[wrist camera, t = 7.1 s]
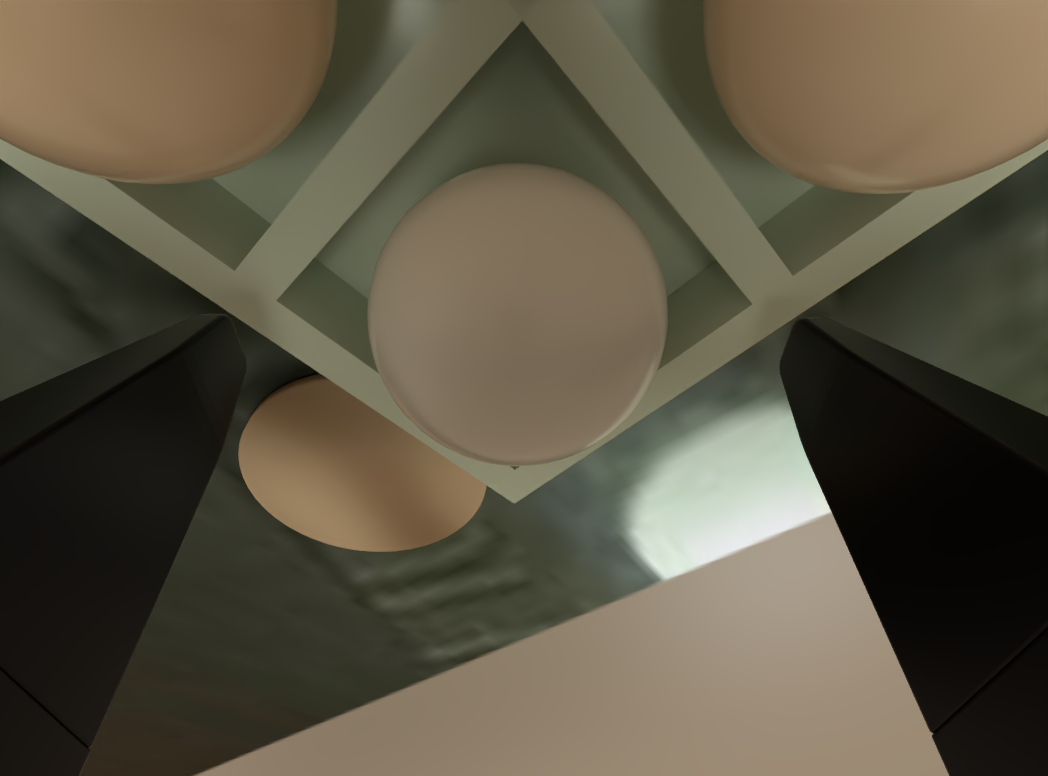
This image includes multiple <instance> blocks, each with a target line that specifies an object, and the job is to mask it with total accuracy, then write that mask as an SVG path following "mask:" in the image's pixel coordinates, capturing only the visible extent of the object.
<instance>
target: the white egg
mask: <svg viewBox="0 0 1048 776" xmlns="http://www.w3.org/2000/svg"><path fill="white" fill-rule="evenodd" d="M367 321H368V333H369V341H370V345H371V349H372V353H373V357H374V360H375V364H376V367H377V369H378V372H379V374H380V377H381V379H382V381H383V383H384V385H385V386H386V388H387V390H388V391H389V393H390V395H391V396H392V398H393V400H394V401H395V403H396V404H397V406H398V407H399V408H400V409H401V411H402V412H403V413H404V414H405V416H406V417H408V418H409V419H410V420H411V421H412V422H413V423H414V424H415V425H416V426H417V427H418V428H419V429H420V430H421V431H422V432H423V433H425V434H426V435H427V436H429V437H430V438H431V439H433V440H434V441H436V442H437V443H439V444H441V445H442V446H444V447H446V448H448V449H450V450H452V451H454V452H456V453H459V454H461V455H463V456H465V457H468V458H471V459H474V460H477V461H481V462H485V463H490V464H496V465H504V466H532V465H539V464H546V463H550V462H554V461H558V460H562V459H565V458H567V457H570V456H573V455H575V454H577V453H579V452H582V451H584V450H586V449H588V448H589V447H591V446H593V445H595V444H596V443H598V442H600V441H601V440H603V439H604V438H606V437H607V436H608V435H609V434H611V433H612V432H613V431H615V430H616V429H617V428H618V427H619V426H620V425H621V424H622V423H623V422H624V421H625V420H626V419H627V418H628V417H629V416H630V414H631V413H632V412H633V411H634V410H635V408H636V407H637V406H638V405H639V403H640V402H641V401H642V399H643V397H644V396H645V394H646V392H647V391H648V389H649V387H650V385H651V383H652V381H653V379H654V377H655V374H656V372H657V370H658V368H659V365H660V361H661V358H662V354H663V351H664V346H665V341H666V334H667V326H668V311H667V294H666V289H665V283H664V278H663V275H662V272H661V269H660V266H659V263H658V260H657V258H656V255H655V252H654V250H653V248H652V246H651V244H650V243H649V241H648V239H647V237H646V235H645V234H644V232H643V231H642V229H641V228H640V227H639V225H638V224H637V223H636V221H635V220H634V219H633V217H632V216H631V215H630V213H629V212H628V211H627V210H626V209H625V208H624V207H623V206H622V205H621V204H620V203H619V202H617V201H616V200H615V199H614V198H613V197H611V196H610V195H609V194H607V193H606V192H605V191H603V190H602V189H600V188H599V187H597V186H596V185H594V184H592V183H590V182H589V181H587V180H585V179H583V178H581V177H579V176H577V175H575V174H572V173H569V172H566V171H564V170H561V169H558V168H553V167H549V166H544V165H539V164H527V163H508V164H496V165H491V166H486V167H481V168H477V169H474V170H471V171H468V172H465V173H462V174H460V175H458V176H456V177H454V178H452V179H450V180H448V181H446V182H444V183H442V184H440V185H439V186H437V187H436V188H435V189H433V190H432V191H430V192H429V193H427V194H426V195H425V196H423V197H422V198H421V199H420V200H419V201H418V202H417V203H416V204H414V205H413V206H412V207H411V208H410V209H409V210H408V211H407V212H406V213H405V215H404V216H403V217H402V218H401V220H400V221H399V222H398V223H397V225H396V226H395V227H394V229H393V231H392V232H391V234H390V236H389V238H388V239H387V241H386V243H385V244H384V246H383V248H382V250H381V252H380V255H379V257H378V260H377V262H376V265H375V267H374V272H373V276H372V280H371V285H370V289H369V294H368V308H367Z"/></svg>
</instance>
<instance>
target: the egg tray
mask: <svg viewBox="0 0 1048 776" xmlns="http://www.w3.org/2000/svg"><path fill="white" fill-rule="evenodd" d="M1047 150H1048V139H1047V140H1045V141H1044V142H1042V143H1041V144H1039V145H1037V146H1036V147H1034V148H1032V149H1031V150H1029V151H1027V152H1025V153H1023V154H1021V155H1019V156H1017V157H1015V158H1013V159H1011V160H1009V161H1007V162H1005V163H1003V164H1001V165H999V166H996V167H994V168H992V169H990V170H987V171H985V172H982V173H979V174H977V175H974V176H972V177H969V178H967V179H964V180H960V181H957V182H953V183H950V184H946V185H943V186H938V187H934V188H929V189H924V190H918V191H912V192H906V193H894V194H859V193H847V192H841V191H837V190H833V189H828V188H824V187H820V186H816V185H812V184H810V183H807V182H805V181H802V180H800V179H797V178H795V177H793V176H791V175H789V174H788V173H786V172H784V171H782V170H781V169H779V168H778V167H776V166H774V165H773V164H771V163H770V162H768V161H766V160H765V159H764V158H763V157H762V156H761V155H760V154H758V153H757V152H756V151H755V150H754V149H753V148H752V147H751V146H750V145H749V144H748V143H747V142H746V141H745V139H744V138H743V137H742V136H741V134H740V133H739V132H738V131H737V129H736V128H735V127H734V126H733V124H732V123H731V121H730V120H729V118H728V116H727V114H726V113H725V111H724V109H723V107H722V106H721V103H720V101H719V98H718V95H717V93H716V90H715V88H714V85H713V82H712V79H711V75H710V71H709V67H708V63H707V58H706V54H705V45H704V35H703V0H338V8H337V26H336V33H335V40H334V47H333V52H332V56H331V59H330V63H329V67H328V70H327V74H326V77H325V79H324V82H323V84H322V86H321V88H320V91H319V93H318V95H317V98H316V99H315V101H314V102H313V104H312V105H311V107H310V109H309V110H308V112H307V113H306V115H305V116H304V118H303V119H302V120H301V122H300V123H299V124H298V125H297V126H296V127H295V129H294V130H293V131H292V132H291V133H290V134H289V135H288V136H287V138H286V139H285V140H283V141H282V142H281V143H280V144H278V145H277V146H276V147H275V148H274V149H272V150H271V151H270V152H269V153H267V154H265V155H264V156H262V157H260V158H259V159H257V160H255V161H253V162H251V163H250V164H248V165H246V166H244V167H242V168H241V169H238V170H235V171H232V172H230V173H227V174H224V175H221V176H218V177H214V178H209V179H204V180H199V181H194V182H189V183H179V184H141V183H128V182H120V181H115V180H110V179H105V178H100V177H95V176H91V175H87V174H84V173H80V172H77V171H74V170H70V169H67V168H64V167H61V166H57V165H55V164H52V163H50V162H47V161H45V160H43V159H40V158H38V157H35V156H33V155H30V154H28V153H26V152H24V151H22V150H20V149H18V148H16V147H14V146H13V145H11V144H9V143H7V142H5V141H3V140H1V139H0V159H1V160H3V161H4V162H6V163H7V164H9V165H10V166H12V167H13V168H15V169H16V170H18V171H19V172H21V173H22V174H24V175H25V176H27V177H28V178H29V179H31V180H32V181H34V182H35V183H37V184H38V185H40V186H41V187H43V188H44V189H46V190H47V191H49V192H50V193H52V194H53V195H55V196H56V197H58V198H59V199H61V200H62V201H64V202H65V203H67V204H68V205H70V206H71V207H73V208H74V209H76V210H77V211H79V212H80V213H82V214H83V215H85V216H86V217H88V218H89V219H91V220H92V221H94V222H95V223H97V224H98V225H100V226H101V227H103V228H104V229H105V230H107V231H108V232H110V233H111V234H113V235H114V236H116V237H117V238H119V239H120V240H122V241H123V242H125V243H126V244H128V245H129V246H131V247H132V248H134V249H135V250H137V251H138V252H140V253H141V254H143V255H144V256H146V257H147V258H149V259H150V260H152V261H153V262H155V263H156V264H158V265H159V266H161V267H162V268H164V269H165V270H167V271H168V272H170V273H171V274H173V275H174V276H176V277H177V278H179V279H180V280H181V281H183V282H184V283H186V284H187V285H189V286H190V287H192V288H193V289H195V290H196V291H198V292H199V293H201V294H202V295H204V296H205V297H207V298H208V299H210V300H211V301H213V302H214V303H216V304H217V305H219V306H220V307H222V308H223V309H225V310H226V311H228V312H229V313H231V314H232V315H234V316H235V317H237V318H238V319H240V320H241V321H243V322H244V323H246V324H247V325H249V326H250V327H252V328H253V329H255V330H256V331H257V332H259V333H260V334H262V335H263V336H265V337H266V338H268V339H269V340H271V341H272V342H274V343H275V344H277V345H278V346H280V347H281V348H283V349H284V350H286V351H287V352H289V353H290V354H292V355H293V356H295V357H296V358H298V359H299V360H301V361H302V362H304V363H305V364H307V365H308V366H310V367H311V368H313V369H314V370H316V371H317V372H319V373H320V374H322V375H323V376H325V377H326V378H328V379H329V380H331V381H332V382H333V383H335V384H336V385H338V386H339V387H341V388H342V389H344V390H345V391H347V392H348V393H350V394H351V395H353V396H354V397H356V398H357V399H359V400H360V401H362V402H363V403H365V404H366V405H368V406H369V407H371V408H372V409H374V410H375V411H377V412H378V413H380V414H381V415H383V416H384V417H386V418H387V419H389V420H390V421H392V422H393V423H395V424H396V425H398V426H399V427H401V428H402V429H404V430H405V431H407V432H408V433H409V434H411V435H412V436H414V437H415V438H417V439H418V440H420V441H421V442H423V443H424V444H426V445H427V446H429V447H430V448H432V449H433V450H435V451H436V452H438V453H439V454H441V455H442V456H444V457H445V458H447V459H448V460H450V461H451V462H453V463H454V464H456V465H457V466H459V467H460V468H462V469H463V470H465V471H466V472H468V473H469V474H471V475H472V476H474V477H475V478H477V479H478V480H480V481H481V482H483V483H484V484H485V485H487V486H488V487H490V488H491V489H493V490H494V491H496V492H497V493H499V494H500V495H502V496H503V497H505V498H506V499H508V500H509V501H511V502H512V503H514V504H515V503H516V502H518V501H519V500H521V499H522V498H524V497H525V496H527V495H528V494H530V493H531V492H533V491H534V490H536V489H537V488H539V487H540V486H542V485H543V484H545V483H546V482H548V481H549V480H551V479H552V478H554V477H555V476H557V475H558V474H560V473H561V472H563V471H564V470H566V469H567V468H569V467H570V466H572V465H573V464H575V463H576V462H578V461H579V460H581V459H582V458H584V457H586V456H587V455H589V454H590V453H592V452H593V451H595V450H596V449H598V448H599V447H601V446H602V445H604V444H605V443H607V442H608V441H610V440H611V439H613V438H614V437H616V436H617V435H619V434H620V433H622V432H623V431H625V430H626V429H628V428H629V427H631V426H632V425H634V424H635V423H637V422H638V421H640V420H641V419H643V418H644V417H646V416H647V415H649V414H650V413H652V412H653V411H655V410H656V409H658V408H659V407H661V406H662V405H664V404H665V403H667V402H668V401H670V400H671V399H673V398H674V397H676V396H677V395H679V394H680V393H682V392H684V391H685V390H687V389H688V388H690V387H691V386H693V385H694V384H696V383H697V382H699V381H700V380H702V379H703V378H705V377H706V376H708V375H709V374H711V373H712V372H714V371H715V370H717V369H718V368H720V367H721V366H723V365H724V364H726V363H727V362H729V361H730V360H732V359H733V358H735V357H736V356H738V355H739V354H741V353H742V352H744V351H745V350H747V349H748V348H750V347H751V346H753V345H754V344H756V343H757V342H759V341H760V340H762V339H763V338H765V337H766V336H768V335H769V334H771V333H772V332H774V331H775V330H777V329H778V328H780V327H781V326H783V325H785V324H786V323H788V322H789V321H791V320H792V319H794V318H795V317H797V316H798V315H800V314H801V313H803V312H804V311H806V310H807V309H809V308H810V307H812V306H813V305H815V304H816V303H818V302H819V301H821V300H822V299H824V298H825V297H827V296H828V295H830V294H831V293H833V292H834V291H836V290H837V289H839V288H840V287H842V286H843V285H845V284H846V283H848V282H849V281H851V280H852V279H854V278H855V277H857V276H858V275H860V274H861V273H863V272H864V271H866V270H867V269H869V268H870V267H872V266H873V265H875V264H876V263H878V262H879V261H881V260H883V259H884V258H886V257H887V256H889V255H890V254H892V253H893V252H895V251H896V250H898V249H899V248H901V247H902V246H904V245H905V244H907V243H908V242H910V241H911V240H913V239H914V238H916V237H917V236H919V235H920V234H922V233H923V232H925V231H926V230H928V229H929V228H931V227H932V226H934V225H935V224H937V223H938V222H940V221H941V220H943V219H944V218H946V217H947V216H949V215H950V214H952V213H953V212H955V211H956V210H958V209H959V208H961V207H962V206H964V205H965V204H967V203H968V202H970V201H971V200H973V199H974V198H976V197H977V196H979V195H980V194H982V193H984V192H985V191H987V190H988V189H990V188H991V187H993V186H994V185H996V184H997V183H999V182H1000V181H1002V180H1003V179H1005V178H1006V177H1008V176H1009V175H1011V174H1012V173H1014V172H1015V171H1017V170H1018V169H1020V168H1021V167H1023V166H1024V165H1026V164H1027V163H1029V162H1030V161H1032V160H1033V159H1035V158H1036V157H1038V156H1039V155H1041V154H1042V153H1044V152H1045V151H1047ZM508 163H527V164H539V165H544V166H549V167H553V168H558V169H561V170H564V171H566V172H569V173H572V174H575V175H577V176H579V177H581V178H583V179H585V180H587V181H589V182H590V183H592V184H594V185H596V186H597V187H599V188H600V189H602V190H603V191H605V192H606V193H607V194H609V195H610V196H611V197H613V198H614V199H615V200H616V201H617V202H619V203H620V204H621V205H622V206H623V207H624V208H625V209H626V210H627V211H628V212H629V213H630V215H631V216H632V217H633V219H634V220H635V221H636V223H637V224H638V225H639V227H640V228H641V229H642V231H643V232H644V234H645V235H646V237H647V239H648V241H649V243H650V244H651V246H652V248H653V250H654V252H655V255H656V258H657V260H658V263H659V266H660V269H661V272H662V275H663V278H664V283H665V289H666V294H667V311H668V326H667V334H666V341H665V346H664V351H663V354H662V358H661V361H660V365H659V368H658V370H657V372H656V374H655V377H654V379H653V381H652V383H651V385H650V387H649V389H648V391H647V392H646V394H645V396H644V397H643V399H642V401H641V402H640V403H639V405H638V406H637V407H636V408H635V410H634V411H633V412H632V413H631V414H630V416H629V417H628V418H627V419H626V420H625V421H624V422H623V423H622V424H621V425H620V426H619V427H618V428H617V429H616V430H615V431H613V432H612V433H611V434H609V435H608V436H607V437H606V438H604V439H603V440H601V441H600V442H598V443H596V444H595V445H593V446H591V447H589V448H588V449H586V450H584V451H582V452H579V453H577V454H575V455H573V456H570V457H567V458H565V459H562V460H558V461H554V462H550V463H546V464H539V465H532V466H504V465H496V464H490V463H485V462H481V461H477V460H474V459H471V458H468V457H465V456H463V455H461V454H459V453H456V452H454V451H452V450H450V449H448V448H446V447H444V446H442V445H441V444H439V443H437V442H436V441H434V440H433V439H431V438H430V437H429V436H427V435H426V434H425V433H423V432H422V431H421V430H420V429H419V428H418V427H417V426H416V425H415V424H414V423H413V422H412V421H411V420H410V419H409V418H408V417H406V416H405V414H404V413H403V412H402V411H401V409H400V408H399V407H398V406H397V404H396V403H395V401H394V400H393V398H392V396H391V395H390V393H389V391H388V390H387V388H386V386H385V385H384V383H383V381H382V379H381V377H380V374H379V372H378V369H377V367H376V364H375V360H374V357H373V353H372V349H371V345H370V341H369V333H368V321H367V308H368V294H369V289H370V285H371V280H372V276H373V272H374V267H375V265H376V262H377V260H378V257H379V255H380V252H381V250H382V248H383V246H384V244H385V243H386V241H387V239H388V238H389V236H390V234H391V232H392V231H393V229H394V227H395V226H396V225H397V223H398V222H399V221H400V220H401V218H402V217H403V216H404V215H405V213H406V212H407V211H408V210H409V209H410V208H411V207H412V206H413V205H414V204H416V203H417V202H418V201H419V200H420V199H421V198H422V197H423V196H425V195H426V194H427V193H429V192H430V191H432V190H433V189H435V188H436V187H437V186H439V185H440V184H442V183H444V182H446V181H448V180H450V179H452V178H454V177H456V176H458V175H460V174H462V173H465V172H468V171H471V170H474V169H477V168H481V167H486V166H491V165H496V164H508Z"/></svg>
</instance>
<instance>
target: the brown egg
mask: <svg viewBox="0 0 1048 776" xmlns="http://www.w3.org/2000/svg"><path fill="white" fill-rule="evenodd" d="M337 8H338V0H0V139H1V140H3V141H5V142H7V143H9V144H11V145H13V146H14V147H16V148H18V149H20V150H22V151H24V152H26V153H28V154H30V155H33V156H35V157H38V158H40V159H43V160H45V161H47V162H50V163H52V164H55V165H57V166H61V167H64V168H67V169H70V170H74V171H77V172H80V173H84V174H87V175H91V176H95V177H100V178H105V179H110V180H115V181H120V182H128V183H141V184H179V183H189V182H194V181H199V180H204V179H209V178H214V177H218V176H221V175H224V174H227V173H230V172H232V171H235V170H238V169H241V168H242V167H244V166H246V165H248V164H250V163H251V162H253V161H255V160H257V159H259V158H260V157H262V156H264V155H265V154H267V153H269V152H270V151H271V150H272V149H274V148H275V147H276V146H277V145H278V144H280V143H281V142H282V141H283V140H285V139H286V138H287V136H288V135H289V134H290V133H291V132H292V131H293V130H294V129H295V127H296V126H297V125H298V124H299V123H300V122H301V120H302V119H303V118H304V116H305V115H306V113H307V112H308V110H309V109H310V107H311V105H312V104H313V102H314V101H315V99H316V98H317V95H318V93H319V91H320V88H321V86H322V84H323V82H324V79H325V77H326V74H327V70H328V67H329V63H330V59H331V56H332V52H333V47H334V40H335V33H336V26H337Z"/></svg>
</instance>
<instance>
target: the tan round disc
mask: <svg viewBox="0 0 1048 776" xmlns="http://www.w3.org/2000/svg"><path fill="white" fill-rule="evenodd" d="M238 456H239V465H240V469H241V472H242V475H243V478H244V480H245V482H246V484H247V486H248V488H249V490H250V491H251V493H252V494H253V496H254V497H255V498H256V500H257V501H258V502H259V503H260V504H261V505H262V506H263V507H264V508H265V509H266V510H267V511H268V512H269V513H270V514H271V515H273V516H274V517H275V518H276V519H278V520H279V521H281V522H282V523H284V524H285V525H286V526H288V527H290V528H292V529H293V530H295V531H297V532H299V533H301V534H303V535H305V536H308V537H310V538H312V539H315V540H318V541H320V542H323V543H326V544H330V545H334V546H337V547H342V548H347V549H352V550H360V551H372V552H389V551H401V550H409V549H413V548H418V547H422V546H425V545H428V544H432V543H435V542H437V541H439V540H441V539H444V538H446V537H448V536H449V535H451V534H453V533H454V532H456V531H457V530H459V529H460V528H461V527H463V526H464V525H465V524H466V523H467V522H468V521H469V520H470V519H471V518H472V517H473V516H474V514H475V513H476V511H477V510H478V509H479V507H480V505H481V503H482V501H483V499H484V495H485V491H486V487H487V485H485V484H484V483H483V482H481V481H480V480H478V479H477V478H475V477H474V476H472V475H471V474H469V473H468V472H466V471H465V470H463V469H462V468H460V467H459V466H457V465H456V464H454V463H453V462H451V461H450V460H448V459H447V458H445V457H444V456H442V455H441V454H439V453H438V452H436V451H435V450H433V449H432V448H430V447H429V446H427V445H426V444H424V443H423V442H421V441H420V440H418V439H417V438H415V437H414V436H412V435H411V434H409V433H408V432H407V431H405V430H404V429H402V428H401V427H399V426H398V425H396V424H395V423H393V422H392V421H390V420H389V419H387V418H386V417H384V416H383V415H381V414H380V413H378V412H377V411H375V410H374V409H372V408H371V407H369V406H368V405H366V404H365V403H363V402H362V401H360V400H359V399H357V398H356V397H354V396H353V395H351V394H350V393H348V392H347V391H345V390H344V389H342V388H341V387H339V386H338V385H336V384H335V383H333V382H332V381H331V380H329V379H328V378H326V377H325V376H323V375H322V374H316V375H312V376H308V377H305V378H301V379H298V380H296V381H293V382H291V383H289V384H287V385H284V386H283V387H281V388H279V389H278V390H276V391H275V392H273V393H271V394H270V395H269V396H268V397H267V398H266V399H265V400H263V401H262V402H261V403H260V405H259V406H258V407H257V408H256V410H255V411H254V412H253V414H252V416H251V418H250V419H249V421H248V423H247V425H246V427H245V429H244V431H243V433H242V436H241V439H240V443H239V453H238Z"/></svg>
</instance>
